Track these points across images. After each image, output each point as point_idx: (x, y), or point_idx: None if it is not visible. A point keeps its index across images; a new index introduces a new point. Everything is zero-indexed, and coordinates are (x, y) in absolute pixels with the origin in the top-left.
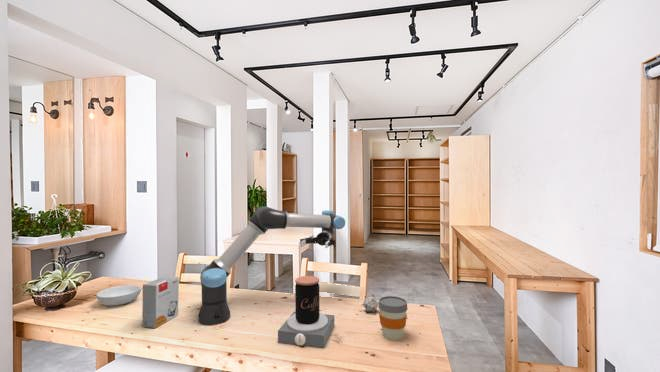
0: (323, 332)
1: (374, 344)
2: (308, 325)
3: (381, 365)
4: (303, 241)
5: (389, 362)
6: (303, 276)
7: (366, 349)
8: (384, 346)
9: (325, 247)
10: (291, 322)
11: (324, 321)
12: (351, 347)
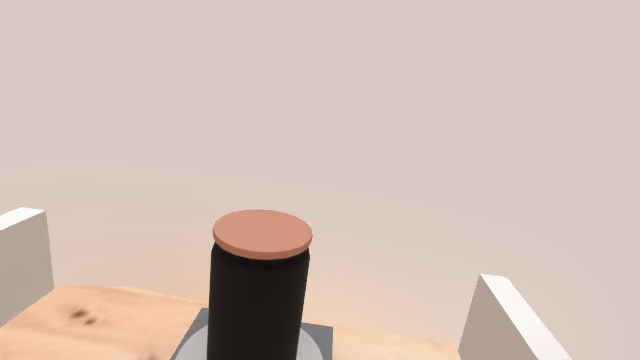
0: (201, 319)
1: (39, 350)
2: None
3: (85, 287)
4: (519, 345)
5: (58, 294)
6: (285, 247)
7: (82, 331)
8: (14, 342)
9: (49, 279)
10: (304, 345)
11: (189, 352)
12: (122, 338)
